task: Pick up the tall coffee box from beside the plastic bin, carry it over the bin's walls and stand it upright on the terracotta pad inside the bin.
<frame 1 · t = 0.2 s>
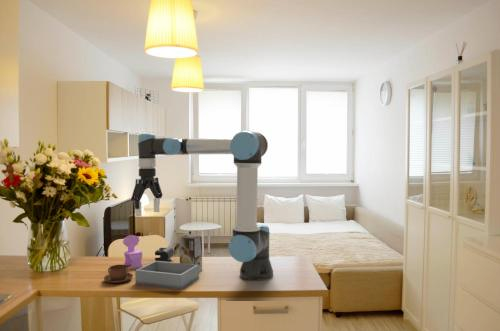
hand: (147, 214, 191), 28 cm above the table, tool pointing down, fingers open, 13 cm apart
coffee box: (190, 270, 197), on the table
cup and saucer: (118, 281, 182), on the table
end cap: (164, 262, 213), on the table
walled bin: (167, 281, 181), on the table
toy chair: (133, 266, 204), on the table
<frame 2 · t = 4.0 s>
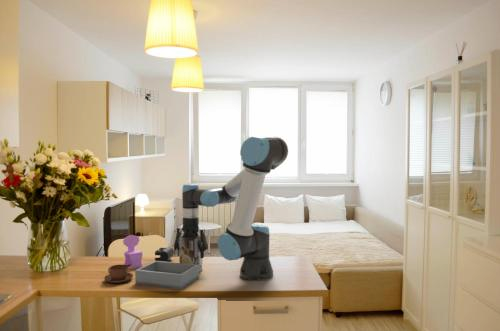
hand: (190, 263, 197), 3 cm above the table, tool pointing down, fingers closed on coffee box, 9 cm apart
coffee box: (190, 270, 197), on the table, touching gripper
everything else where it was.
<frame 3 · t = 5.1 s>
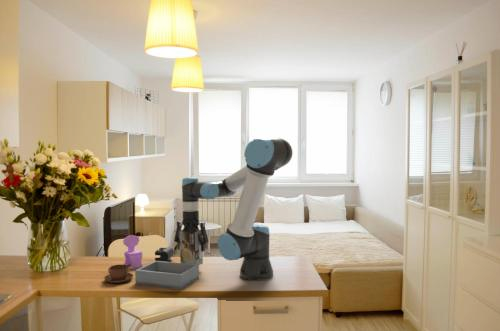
hand: (191, 257, 197), 6 cm above the table, tool pointing down, fingers closed on coffee box, 9 cm apart
coffee box: (191, 264, 197), point 3 cm above the table, touching gripper
everything else where it was.
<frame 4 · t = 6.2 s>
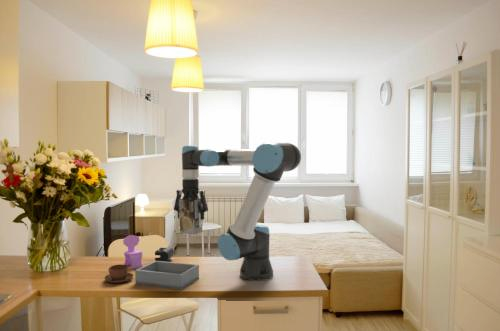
hand: (191, 226, 196), 21 cm above the table, tool pointing down, fingers closed on coffee box, 9 cm apart
coffee box: (191, 233, 197), point 18 cm above the table, touching gripper
everything else where it was.
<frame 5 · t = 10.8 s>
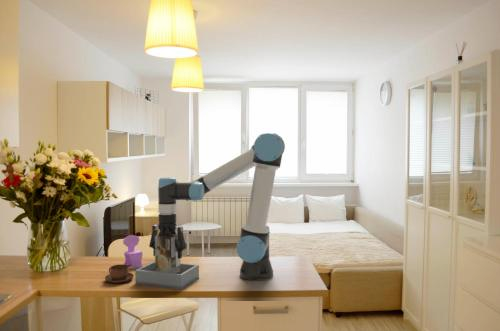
hand: (167, 264, 181), 7 cm above the table, tool pointing down, fingers closed on coffee box, 9 cm apart
coffee box: (167, 272, 181), point 4 cm above the table, touching gripper
everything else where it was.
when the fingers open (6 cm above the table, at t = 12.1 s): coffee box drops 1 cm, resting on walled bin.
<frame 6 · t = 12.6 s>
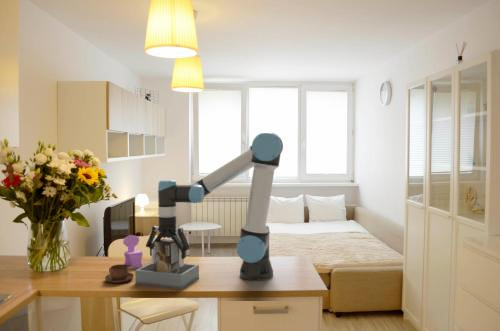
hand: (167, 264, 181), 7 cm above the table, tool pointing down, fingers open, 13 cm apart
coffee box: (167, 278, 181), point 1 cm above the table, touching walled bin
everything else where it was.
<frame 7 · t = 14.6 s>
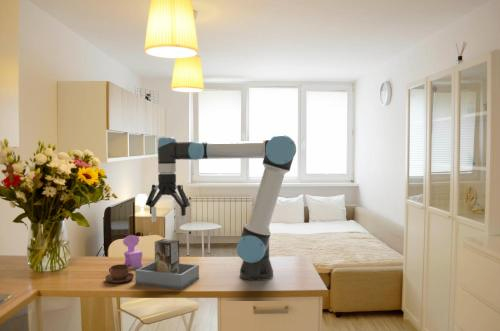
hand: (167, 222, 180), 26 cm above the table, tool pointing down, fingers open, 13 cm apart
nothing on the table moved.
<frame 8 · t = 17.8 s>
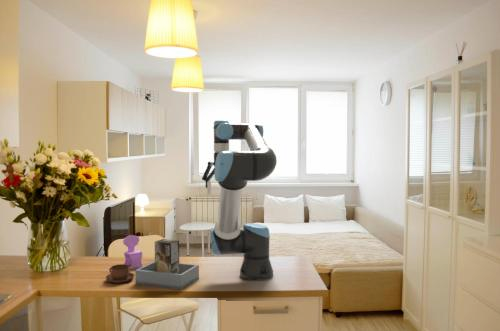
hand: (221, 195, 206), 35 cm above the table, tool pointing down, fingers open, 13 cm apart
nothing on the table moved.
at the end: coffee box inside the target area on the walled bin (0.2 cm from its centre), point 1.3 cm above the walled bin's base; coffee box tilted 0°; the gripper is holding nothing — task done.
